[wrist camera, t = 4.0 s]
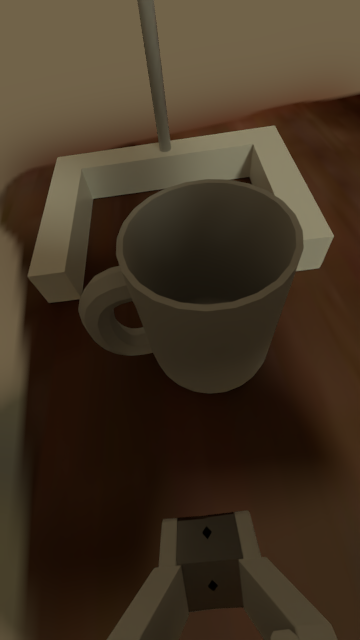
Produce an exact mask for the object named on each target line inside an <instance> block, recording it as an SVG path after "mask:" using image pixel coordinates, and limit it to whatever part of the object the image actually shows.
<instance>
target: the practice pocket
mask: <svg viewBox="0 0 360 640" xmlns="http://www.w3.org/2000/svg"><path fill="white" fill-rule="evenodd" d="M138 7H139V14H140V20H141V27H142V33H143V40H144V47H145V54H146V59H147V67H148V74H149V80H150V87H151V93H152V100H153V105H154V106H153V107H154V113H155V120H156V127H157V134H158V140H159V143H152V144H145V145H139V146H132V147H125V148H118V149H111V150H104V151H98V152H91V153H84V154H78V155H70V156H64V157H58V158H57V161H56V165H55V169H54V173H53V177H52V181H51V185H50V189H49V193H48V197H47V201H46V205H45V209H44V213H43V217H42V221H41V224H40V228H39V232H38V236H37V240H36V244H35V248H34V252H33V256H32V260H31V264H30V268H29V272H28V276H27V277H28V278H29V279H30V281H31V282H32V283H33V284H34V286H35V287H36V288H37V289H38V291H39V292H40V293H41V294H42V295H43V297H44V298H45V299H46V300H47V302H48V303H54V302H62V301H69V300H77V299H80V296H81V294H82V292H83V283H84V275H85V266H86V257H87V248H88V240H89V231H90V222H91V214H92V205H93V199H96V198H103V197H110V196H117V195H124V194H131V193H138V192H145V191H153V190H160V189H166V188H168V187H172V186H175V185H178V184H181V183H185V182H190V181H198V180H205V179H223V180H231V179H238V178H245V177H250V180H251V183H252V185H254V186H257V187H259V188H262V189H265V190H267V191H269V192H270V193H272V194H273V195H275V196H276V197H278V198H279V199H281V200H283V201H284V202H285V203H286V205H287V206H288V207H289V208H290V209H291V210H292V211H293V212H294V213H295V214H296V216H297V219H298V221H299V223H300V225H301V228H302V230H303V244H304V249H303V252H302V255H301V258H300V261H299V263H298V266H297V269H296V271H301V270H309V269H316V268H320V266H321V264H322V262H323V259H324V257H325V255H326V253H327V250H328V248H329V246H330V244H331V241H332V239H333V237H334V235H333V233H332V232H331V230H330V228H329V226H328V224H327V222H326V220H325V218H324V217H323V215H322V213H321V211H320V209H319V207H318V205H317V204H316V202H315V200H314V198H313V196H312V194H311V192H310V191H309V189H308V187H307V185H306V183H305V181H304V179H303V177H302V176H301V174H300V172H299V170H298V168H297V166H296V164H295V163H294V161H293V159H292V157H291V155H290V153H289V151H288V149H287V148H286V146H285V144H284V142H283V140H282V138H281V136H280V135H279V133H278V131H277V129H276V127H275V126H268V127H261V128H255V129H248V130H241V131H234V132H227V133H220V134H214V135H207V136H200V137H193V138H186V139H180V140H173V141H170V135H169V126H168V118H167V110H166V101H165V93H164V85H163V76H162V67H161V60H160V50H159V42H158V33H157V25H156V17H155V9H154V0H138Z"/></svg>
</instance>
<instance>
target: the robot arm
mask: <svg viewBox="0 0 360 640" xmlns="http://www.w3.org/2000/svg"><path fill="white" fill-rule="evenodd" d="M239 607H244V610H245V611H246V613H247V614H248V616H249V617H250V619H251V620H252V622H253V623H254V625H255V626H256V628H257V629H258V631H259V632H260V634H261V635H262V637H263V638H264V640H337V638H336V635H335V633H334V630H333V628H332V625H331V624H330V623H329V622H328V621H327V620H326V619H325V617H324V616H323V615H322V614H321V613H320V612H319V611H318V610H317V609H316V608H315V607H314V606H313V605H312V604H311V603H310V602H309V601H308V600H307V599H306V598H305V597H304V596H303V595H302V594H301V593H300V592H299V591H298V590H297V588H296V587H295V586H294V585H293V584H292V583H291V582H290V581H289V580H288V579H287V578H286V577H285V576H284V575H283V574H282V573H281V572H280V571H279V570H278V569H277V568H276V567H275V566H274V565H273V564H272V563H271V562H270V561H269V559H268V558H267V557H261V554H260V550H259V546H258V542H257V538H256V535H255V531H254V527H253V523H252V520H251V516H250V513H249V511H239V512H229V513H221V514H212V515H206V516H194V517H180V518H171V519H163V521H162V528H161V541H160V555H159V567H157V568H154V569H153V570H152V572H151V573H150V575H149V576H148V578H147V579H146V581H145V582H144V584H143V586H142V587H141V589H140V590H139V592H138V593H137V595H136V596H135V598H134V599H133V601H132V602H131V604H130V605H129V607H128V608H127V610H126V611H125V613H124V614H123V616H122V617H121V619H120V620H119V622H118V623H117V625H116V627H115V628H114V630H113V631H112V633H111V634H110V636H109V637H108V639H107V640H179V638H180V635H181V633H182V630H183V628H184V625H185V623H186V621H187V618H188V616H189V612H195V611H202V610H210V609H221V608H239Z"/></svg>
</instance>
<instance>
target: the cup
mask: <svg viewBox="0 0 360 640" xmlns="http://www.w3.org/2000/svg"><path fill="white" fill-rule="evenodd" d="M303 249H304V244H303V230H302V228H301V225H300V223H299V221H298V219H297V216H296V214H295V213H294V212H293V211H292V210H291V209H290V208H289V207H288V206H287V205H286V203H285V202H284V201H283V200H281V199H279V198H278V197H276V196H275V195H273V194H272V193H270V192H269V191H267V190H265V189H262V188H259V187H257V186H254V185H251V184H249V183H244V182H238V181H233V180H223V179H205V180H198V181H190V182H185V183H181V184H178V185H175V186H172V187H168V188H166V189H164V190H162V191H160V192H158V193H156V194H154V195H152V196H150V197H148V198H147V199H146V200H144V201H143V202H142V203H141V204H139V205H138V206H137V207H135V208H134V209H133V211H132V212H131V213H130V214H129V216H128V217H127V218H126V219H125V221H124V222H123V224H122V226H121V229H120V231H119V234H118V236H117V244H116V257H117V260H118V262H119V265H120V266H116V267H112V268H109V269H107V270H105V271H103V272H101V273H99V274H97V275H96V276H94V277H93V279H92V280H91V281H90V282H89V284H88V285H87V286H86V287H85V289H84V291H83V293H82V294H81V296H80V301H79V308H78V311H79V315H80V318H81V321H82V323H83V325H84V327H85V328H86V330H87V332H88V333H89V334H90V336H91V337H92V339H93V340H94V341H95V342H96V343H97V344H98V345H100V346H101V347H102V348H104V349H105V350H108V351H110V352H112V353H115V354H120V355H127V356H134V355H144V354H149V353H153V354H154V356H155V358H156V360H157V362H158V364H159V365H160V367H161V368H162V369H163V371H164V372H165V374H166V375H167V376H168V377H169V378H170V379H172V380H173V381H174V382H175V383H177V384H178V385H180V386H182V387H184V388H187V389H189V390H191V391H194V392H201V393H208V394H211V393H221V392H227V391H229V390H232V389H235V388H237V387H240V386H242V385H243V384H244V383H246V382H247V381H248V380H250V379H251V378H252V377H253V376H254V375H255V374H256V372H257V371H258V370H259V368H260V367H261V366H262V364H263V362H264V360H265V357H266V355H267V352H268V349H269V346H270V343H271V340H272V338H273V335H274V332H275V329H276V326H277V323H278V320H279V318H280V315H281V312H282V309H283V306H284V303H285V300H286V298H287V295H288V292H289V289H290V286H291V283H292V281H293V278H294V275H295V272H296V269H297V266H298V263H299V261H300V258H301V255H302V252H303ZM131 301H133V303H134V305H135V307H136V309H137V312H138V315H139V317H140V320H141V322H142V325H143V327H141V328H128V327H125V326H124V325H122V324H120V323H119V322H118V321H117V320H116V318H115V315H114V308H115V307H117V306H119V305H120V304H124V303H127V302H131Z"/></svg>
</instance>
